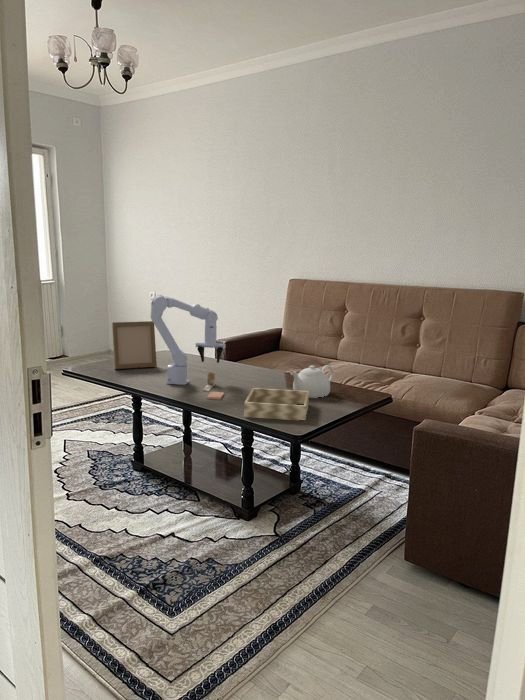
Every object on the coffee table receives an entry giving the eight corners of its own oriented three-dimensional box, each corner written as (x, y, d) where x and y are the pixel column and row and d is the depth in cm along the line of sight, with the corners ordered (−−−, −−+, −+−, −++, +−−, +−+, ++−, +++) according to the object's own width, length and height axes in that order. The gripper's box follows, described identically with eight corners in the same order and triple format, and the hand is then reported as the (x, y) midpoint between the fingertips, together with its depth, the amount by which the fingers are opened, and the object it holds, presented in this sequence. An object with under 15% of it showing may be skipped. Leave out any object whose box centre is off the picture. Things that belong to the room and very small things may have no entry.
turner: (202, 391, 252) (202, 378, 251) (208, 384, 264) (208, 372, 263) (208, 391, 251) (208, 379, 250) (214, 384, 264) (215, 372, 263)
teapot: (330, 400, 241) (332, 371, 239) (289, 397, 244) (290, 368, 242) (332, 390, 259) (334, 362, 257) (294, 387, 262) (295, 360, 260)
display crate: (244, 416, 216) (244, 402, 215) (252, 401, 238) (252, 387, 237) (305, 420, 213) (306, 406, 212) (308, 404, 235) (308, 391, 234)
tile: (211, 394, 248) (207, 400, 240) (211, 391, 248) (207, 396, 240) (223, 395, 247) (220, 400, 239) (223, 392, 247) (220, 397, 239)
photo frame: (156, 368, 295) (155, 322, 291) (115, 370, 288) (114, 323, 283) (152, 362, 309) (151, 319, 305) (112, 365, 301) (111, 320, 297)
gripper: (194, 335, 262) (194, 362, 265) (223, 336, 261) (223, 364, 263) (197, 333, 269) (197, 359, 272) (226, 334, 267) (226, 361, 270)
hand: (210, 361), depth 268 cm, fingers open, 7 cm apart
